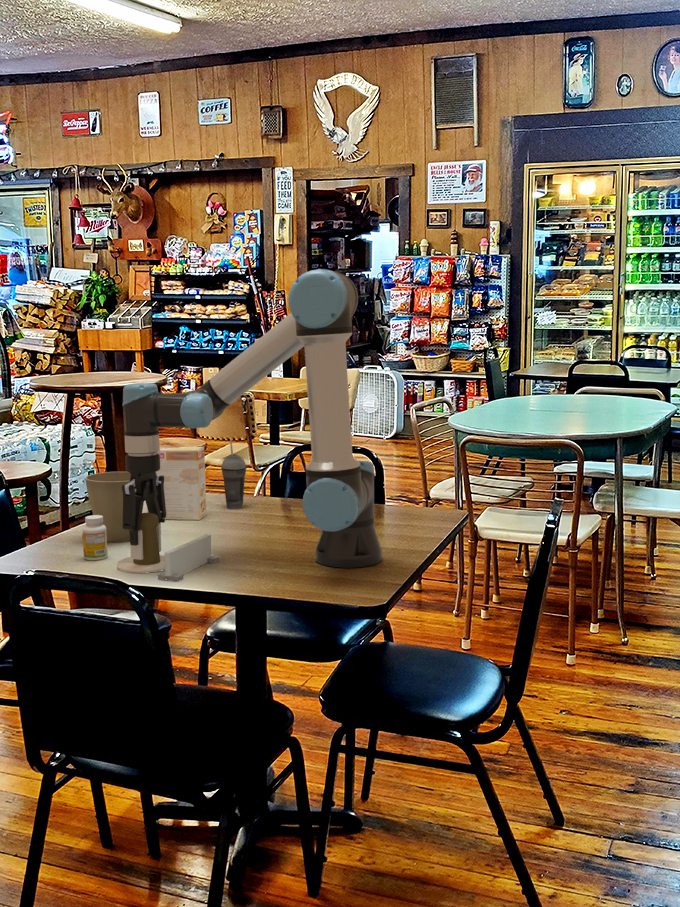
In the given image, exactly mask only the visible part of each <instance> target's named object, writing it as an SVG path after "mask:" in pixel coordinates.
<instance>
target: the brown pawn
mask: <svg viewBox="0 0 680 907" xmlns="http://www.w3.org/2000/svg"><path fill="white" fill-rule="evenodd" d="M158 523H159V519H158V516H157V515H156V514H154V513H148V512H142V517H141V524H140V530H142V537H143V559H142V560H138V559H133V563H135V564H141V565H151V564H157V563H159V562H160V555H161V554H160V552H159V546H158V538H157V531H156V527H157V526H158Z"/></svg>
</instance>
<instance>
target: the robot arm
mask: <svg viewBox="0 0 680 907" xmlns="http://www.w3.org/2000/svg"><path fill="white" fill-rule="evenodd" d="M287 301H288V308H289V310H290V313H289V314H288V315H286V316H285V317H284V318H283V319H282V320H280V321H279V322H278V323H277V324H275V325H274V326H273V327H272V328H271V329H269V330H268V331H267V332H266V333H265V334H263V335H262V336H261V337H260V338H259V339H257V340H256V341H255V342H253V343H252V344H251V345H250V346H248V347H247V348H246V349H245V350H243V351H242V352H241V353H240V354H239V355H237V356H236V357H235V358H233V359H232V360H231V361H229V363H227V364H226V365H225V366H224V367H223V368H221V369H220V370H219V371H218V372H216V373H215V374H214V375H213V376H212V377H210V378H209V379H208V380H207V381H205V382H204V383H203V384H201V386H199V387H198V388H197V389H194V390H190V391H186V392H176V393H175V392H170V393H169V392H168V393H167V392H159V390H158V386H157V384H156V383H154V382H153V383H152V382H151V383H150V382H149V383H148V382H141V383H139V382H137V383H136V382H135V383H128V384H126V385H124V387H123V389H122V391H123V392H122V404H121V405H122V410H123V411H122V413H123V425H124V426H123V428H124V432H123V434H124V452H125V453H127V454H126V455H125V457H124V459H125V472H129V473H130V474H131V477H130V483H128V484H127V485H126V484H123V485H122V492H123V529H125V530H129V533H130V540H129V545H130V557H131V559H138V560H142V559H143V537H142V530H140V524H141V517H142V513H143V509H144V502H145V504H146V509H147V513H154V514H156V515H157V516H158V519H159V523H158V526H157V527H156V531H157V538H158V546H159V553H160V552H162V528H161V527H162V526H161V523H165V522H166V519H163V518H166V506H165V495H164V476H159V475H156V471H159V470H160V455H159V454H158V453H157V452H159V451H160V447H161V446H160V445H161V444H160V430H159V429H160V428H184V429H185V428H187V429H199V428H201V429H202V428H203V429H205V428H208V427H209V426H210V425H211V422H212V421H213V420H215V419H217V418H219V417H221V415H223V413H224V412H225V410H226V409H227V408H228V407H229V406H231V405H232V404H233V403H234V402H235V401H237V400H238V399H239V398H240V397H242V396H243V395H244V394H245V393H247V392H248V391H249V390H251V389H252V388H253V387H254V386H255V385H257V384H258V383H259V382H261V381H262V380H264V378H265V377H267V376H268V375H270V374H271V373H272V372H273V371H274V370H276V369H277V368H278V367H279V366H281V365H282V364H283V363H285V362H286V361H287V360H289V359H290V358H291V357H292V356H294V355H295V354H296V353H298V351H300V350H301V349H302V348H304V358H305V371H306V372H305V375H306V390H307V404H308V418H309V419H308V420H309V430H310V431H309V432H310V435H309V436H310V448H311V450H310V451H311V459H310V461H309V463H307V465H306V466H305V481H306V482H305V483H306V489H305V490H304V494H303V496H302V510H303V512H304V515H305V517H306V519H307V520H308V521H309V522H310V523H311V524H312V525H313V526H314V527H315V528H317V529H320V530H321V532H320V536H319V539H318V542H317V544H316V549H315V562H317V563H318V564H320V565H322V566H327V567H332V568H347V569H348V568H350V569H351V568H360V567H361V568H363V567H364V568H365V567H369V566H374V565H376V564H379V563H381V561H382V559H383V556H382V555H383V553H382V552H383V550H382V547H381V543H380V541H379V538H378V534H377V532H376V528H375V477H376V473H375V468H374V467H375V466H374V464H373V462H371V461H369V460H357V459H356V458H355V457H354V456H353V444H352V427H351V413H350V412H351V411H350V409H351V408H350V395H349V393H350V392H349V378H348V362H347V360H348V359H347V348H346V347H347V344H346V343H347V341H348V340H349V339H350V337H351V336H352V335H353V327H352V326H353V325H352V316H354V314H355V312H356V310H357V307H358V304H359V292H358V290H357V287H356V285H355V283H354V282H353V281H352V280H351V278H350V277H348V275H345V274H343V273H341V272H339V271H333V270H330V269H326V268H318V269H311V270H309V271H306V272H304V273H302V274H300V276H298V277H297V278H296V279H295V280H294V281H293V283H292V285H291V287H290V289H289V292H288V300H287ZM157 485H158V486H157ZM160 511H161V512H160Z"/></svg>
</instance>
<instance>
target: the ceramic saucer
mask: <svg viewBox="0 0 680 907" xmlns="http://www.w3.org/2000/svg"><path fill="white" fill-rule="evenodd" d="M116 569H117V570H118V571H120V572H124V573H128V574H129V572H130V573H131V574H147V573H146V572H154V573H156V572H155V571H160V572H162V571H161V570H165V554H164V555H163V554H160V562H159V563H157V564H151V565H141V564H135V563H133V559H131V556H129V557H125V558H122V559H120V560H118V561H117V563H116Z"/></svg>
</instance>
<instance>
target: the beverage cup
mask: <svg viewBox="0 0 680 907" xmlns="http://www.w3.org/2000/svg"><path fill="white" fill-rule="evenodd" d="M232 441H233V439H232V438H229V445H230V454H229V455H227V456H226V457H225V458H224V459H223V461H222V463H221V469H220V470H221V474H222V477H223V478H222V479H223V486H224V496H225V502H226V509H228V510H240V508H241V509H243V508H244V507H243V505H244V494H245V480H246V473H247V465H246V464H247V463H246V462H245V460H244V458H243V457H242V456H240V455H238V454H234V452H233V451H234V450H233V442H232ZM242 507H243V508H242Z"/></svg>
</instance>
